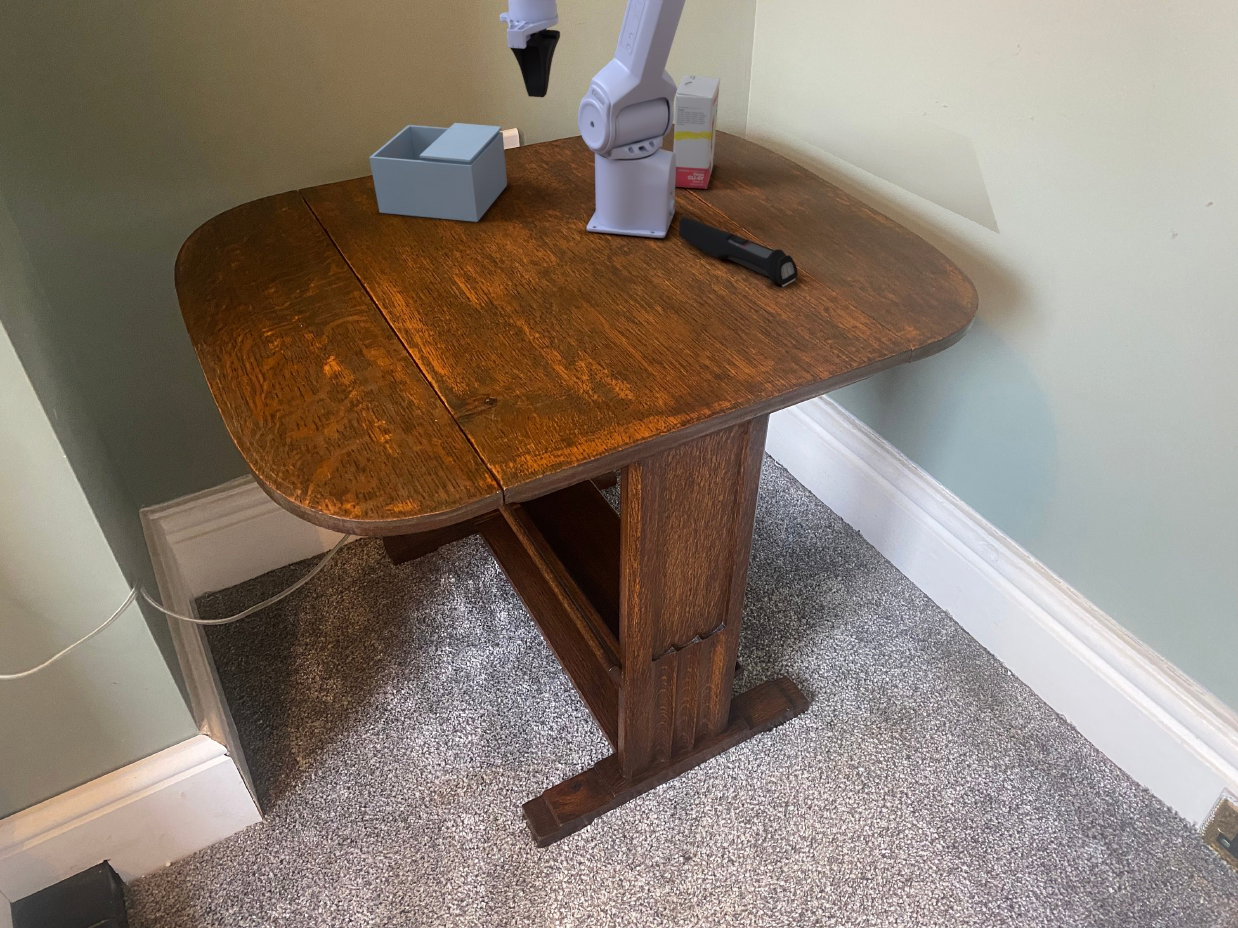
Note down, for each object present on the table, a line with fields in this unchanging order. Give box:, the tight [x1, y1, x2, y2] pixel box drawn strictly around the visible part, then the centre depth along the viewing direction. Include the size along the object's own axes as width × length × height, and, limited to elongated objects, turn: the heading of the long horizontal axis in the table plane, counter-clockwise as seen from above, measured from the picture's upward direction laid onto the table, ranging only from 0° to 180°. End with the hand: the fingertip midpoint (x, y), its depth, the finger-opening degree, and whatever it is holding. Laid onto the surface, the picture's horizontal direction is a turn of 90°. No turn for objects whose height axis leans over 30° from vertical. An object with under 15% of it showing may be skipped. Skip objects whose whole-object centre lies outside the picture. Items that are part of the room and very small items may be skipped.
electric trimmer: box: [678, 216, 799, 288], centre depth 95 cm, size 4×16×3 cm, turn 45°
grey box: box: [368, 124, 508, 223], centre depth 107 cm, size 13×12×7 cm
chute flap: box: [420, 122, 503, 162], centre depth 103 cm, size 6×12×1 cm, turn 168°
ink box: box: [672, 74, 721, 190], centre depth 111 cm, size 9×5×12 cm, turn 169°
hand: (537, 95), depth 108 cm, fingers closed
